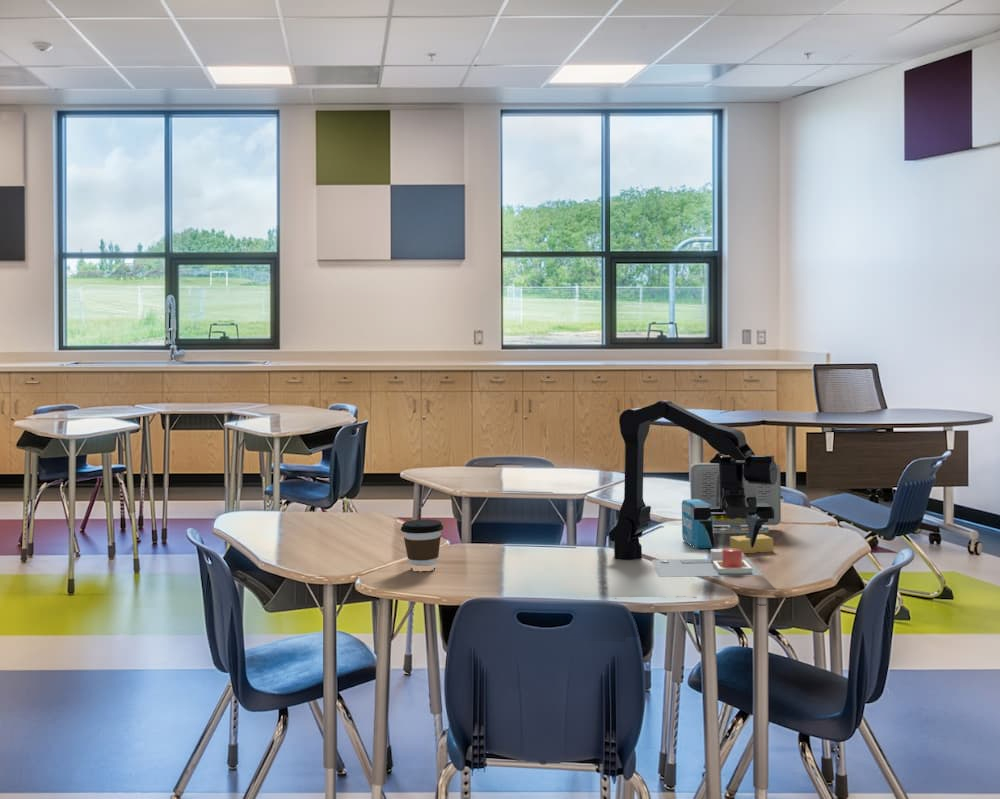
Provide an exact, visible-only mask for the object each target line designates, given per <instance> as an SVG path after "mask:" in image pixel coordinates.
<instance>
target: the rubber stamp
mask: <svg viewBox="0 0 1000 799" xmlns="http://www.w3.org/2000/svg"><path fill="white" fill-rule="evenodd" d="M751 516H754V515H748V518H746V519H745V520H746V523H747V525H748V528H747V529H748V531H749V533H746V535H733V536H732V535H731V536H729V548H734V549H740V550H742V553H749V554H757V553H756V552H761V553H772V552H774V538H773V537H771V536H768V535H765V534H764V533H758V535H757V538H756V541H755V544H754V547H751V544H750V533H751Z"/></svg>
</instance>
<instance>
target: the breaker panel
mask: <svg viewBox="0 0 1000 799" xmlns="http://www.w3.org/2000/svg"><path fill="white" fill-rule="evenodd" d="M651 561H652V562H651V563H652V564H653V567H654V570H655V571H656V573H657V576H658V577H659V578H665V577H666V578H667V577H668V578H669V577H670V578H674V577H675V578H676V577H677V578H679V577H682V578H683V577H691V578H692V577H751V576H752V577H753V576H754V577H756V576H757V577H761V576H763V577H764V575H763V573H762V572H761V571H760V570H759V568H757V567H756V565H754V563H753V562H752V561H751V560H750V558H747V557H745V558H744V557H742V568H722V561H713V562H712V560H711V558H684V559H683V558H681V559H680V558H677V559H675V558H673V559H672V558H671V559H667V558H665V559H661V558H660V559H658V558H657V559H651Z"/></svg>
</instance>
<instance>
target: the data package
mask: <svg viewBox="0 0 1000 799" xmlns="http://www.w3.org/2000/svg"><path fill="white" fill-rule="evenodd" d="M704 504H707V505H708V506H709V507H710V508H713V507H712V505H711V504H708V503H706V502H704V501H701V500H699V499H691V498H690V499H683V500H682V501H681V532H682V533H681V536H682V540H684V541H686V542H687V543H689V544H691V545H692V546H691V545H690V546H691V547H693V546H694V547H696V548H703V549H713V548H712V547H711V544H710V541H709V538H708V535H707V533H706V530H705V528H704V526H703V524H702V523H699V522H698V521H697V520H694V519H693V518H692V517H691V507H692V505H704ZM710 520H711V521H712V530H713V531H714V528H713V516H711V517H710ZM684 541H683V542H684ZM686 542H685V543H686ZM687 543H686V544H687ZM689 544H688V545H689ZM694 547H693V548H694ZM696 548H695V549H696Z"/></svg>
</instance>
